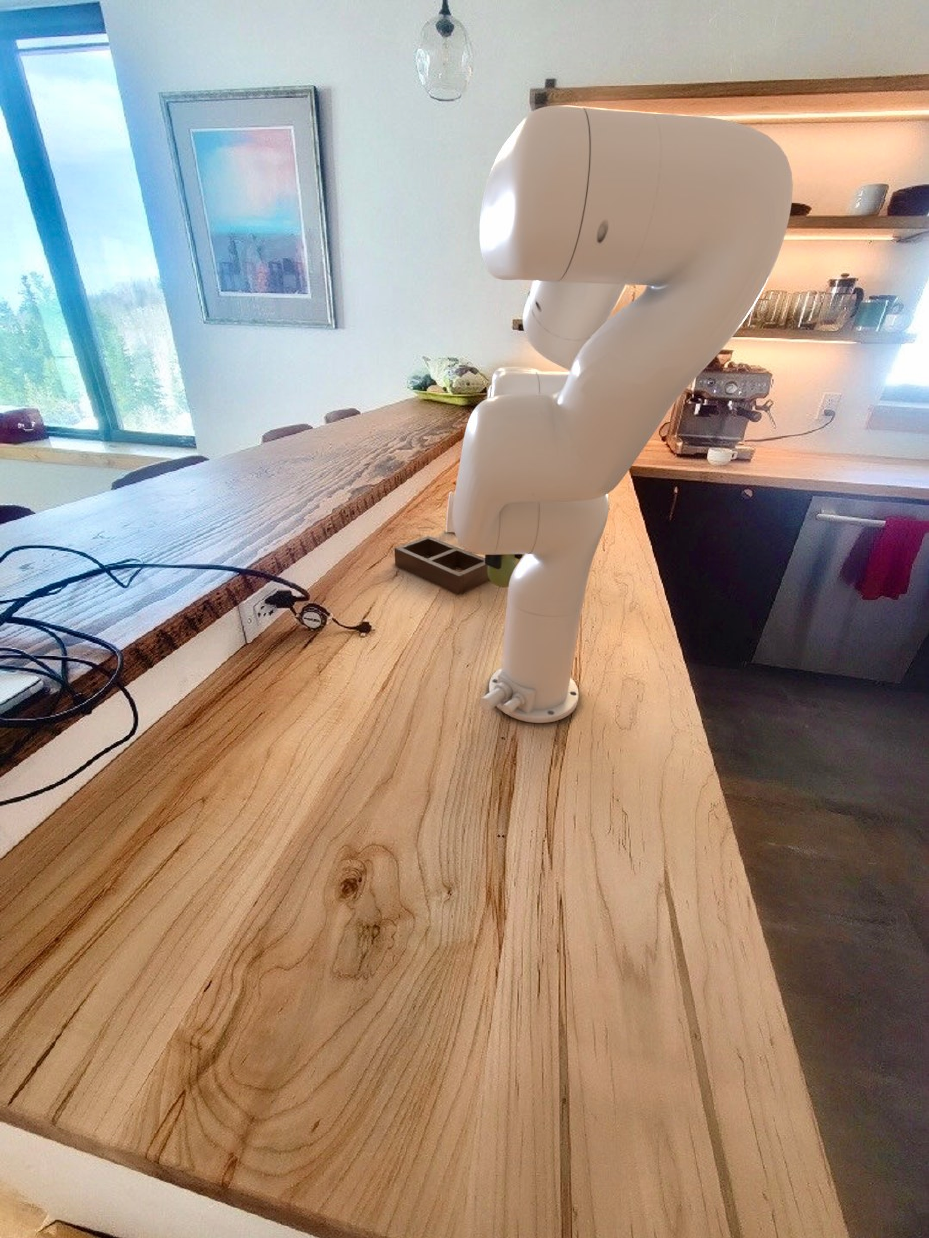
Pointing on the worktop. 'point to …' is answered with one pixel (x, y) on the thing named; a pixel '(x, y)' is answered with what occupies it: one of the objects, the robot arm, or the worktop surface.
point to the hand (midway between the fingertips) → (503, 560)
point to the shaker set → (450, 514)
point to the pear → (503, 571)
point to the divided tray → (442, 564)
